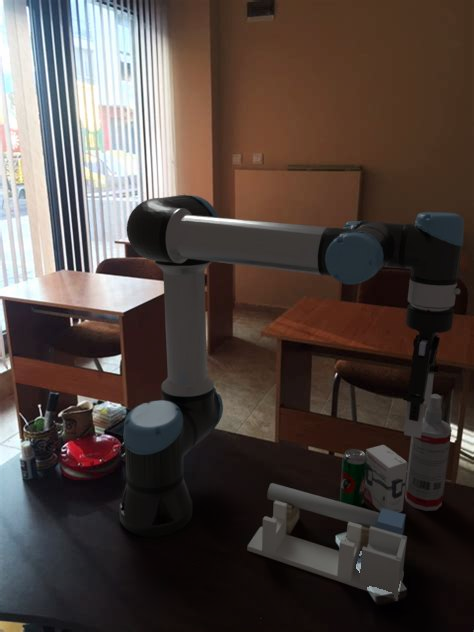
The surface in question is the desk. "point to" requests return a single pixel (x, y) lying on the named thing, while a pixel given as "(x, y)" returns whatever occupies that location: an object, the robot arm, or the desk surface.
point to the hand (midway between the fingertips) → (417, 419)
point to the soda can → (353, 477)
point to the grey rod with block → (338, 509)
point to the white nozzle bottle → (428, 460)
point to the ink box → (385, 478)
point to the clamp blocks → (294, 516)
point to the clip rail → (336, 553)
